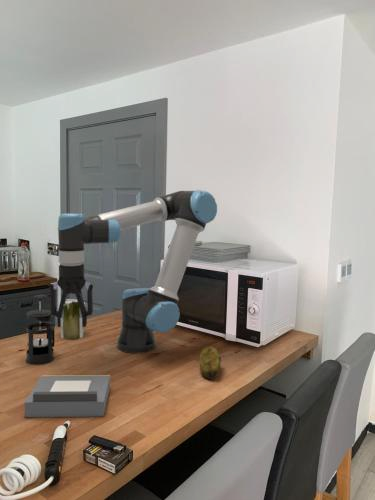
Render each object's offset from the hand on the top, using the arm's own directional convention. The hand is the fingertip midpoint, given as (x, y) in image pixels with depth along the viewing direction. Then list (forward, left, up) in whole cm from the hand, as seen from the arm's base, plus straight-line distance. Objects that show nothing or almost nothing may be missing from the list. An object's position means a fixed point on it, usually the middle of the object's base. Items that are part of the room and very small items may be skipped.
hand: (72, 336), depth 125 cm
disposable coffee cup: (+7, -41, -14) cm, 44 cm away
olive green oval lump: (-45, -3, -14) cm, 47 cm away
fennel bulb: (0, 0, -1) cm, 1 cm away
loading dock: (-3, +16, -13) cm, 21 cm away
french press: (+13, -15, -14) cm, 24 cm away
